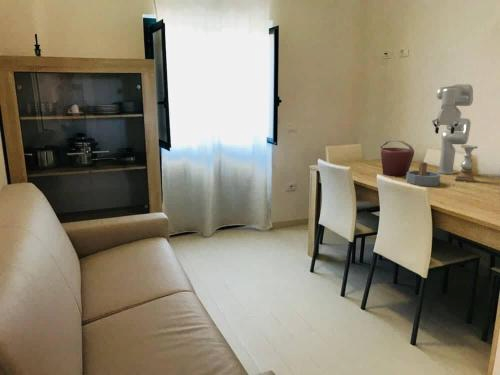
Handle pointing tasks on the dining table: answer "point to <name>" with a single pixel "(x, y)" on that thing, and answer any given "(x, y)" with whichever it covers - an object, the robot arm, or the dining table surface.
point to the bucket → (396, 160)
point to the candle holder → (466, 165)
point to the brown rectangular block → (422, 169)
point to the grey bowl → (423, 178)
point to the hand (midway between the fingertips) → (444, 133)
